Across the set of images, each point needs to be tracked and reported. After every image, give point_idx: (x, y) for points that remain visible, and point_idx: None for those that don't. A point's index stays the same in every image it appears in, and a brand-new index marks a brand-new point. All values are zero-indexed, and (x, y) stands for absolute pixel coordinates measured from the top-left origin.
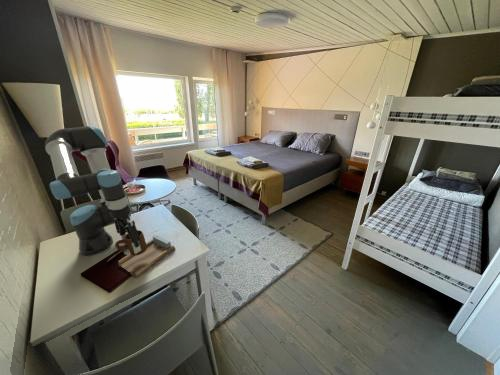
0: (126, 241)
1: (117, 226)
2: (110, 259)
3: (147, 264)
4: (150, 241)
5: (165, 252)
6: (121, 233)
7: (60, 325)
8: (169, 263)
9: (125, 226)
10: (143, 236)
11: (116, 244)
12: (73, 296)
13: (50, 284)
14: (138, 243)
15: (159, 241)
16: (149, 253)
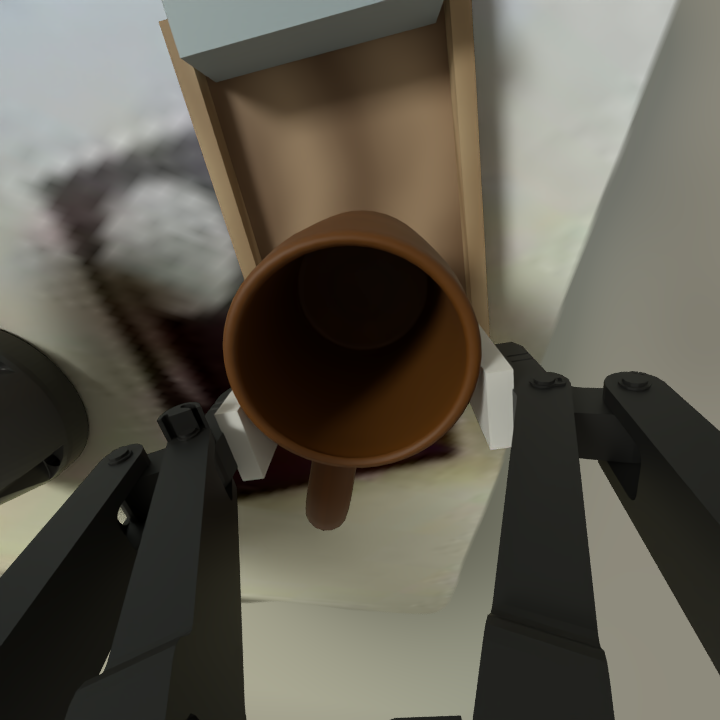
0: (369, 445)
1: (110, 630)
2: (195, 389)
3: (481, 269)
4: (202, 110)
5: (473, 75)
6: (234, 502)
7: (455, 578)
8: (566, 117)
9: (202, 541)
10: (424, 242)
11: (342, 522)
12: (348, 538)
13: None
14: (532, 361)
15: (305, 34)
16: (341, 192)
